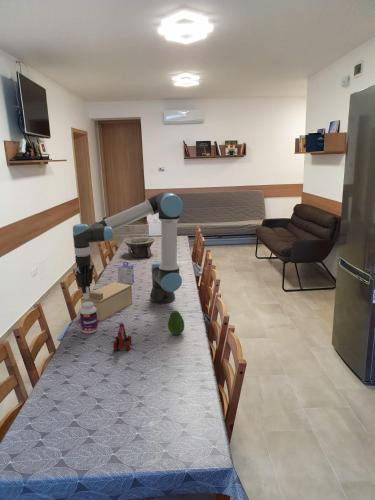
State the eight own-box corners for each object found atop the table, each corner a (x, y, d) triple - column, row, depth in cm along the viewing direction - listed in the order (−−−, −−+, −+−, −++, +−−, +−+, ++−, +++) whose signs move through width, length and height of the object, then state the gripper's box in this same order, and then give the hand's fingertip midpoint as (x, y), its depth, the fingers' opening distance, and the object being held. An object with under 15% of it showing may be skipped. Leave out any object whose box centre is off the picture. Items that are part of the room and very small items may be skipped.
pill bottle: (83, 335, 177) (80, 308, 173) (79, 329, 184) (77, 302, 180) (99, 332, 181) (97, 304, 177) (95, 325, 188) (93, 299, 184)
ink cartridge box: (134, 281, 254) (133, 261, 251) (132, 284, 249) (131, 263, 245) (120, 281, 255) (119, 261, 252) (118, 284, 250) (117, 263, 246)
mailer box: (132, 302, 217) (131, 286, 214) (101, 321, 193) (99, 303, 190) (114, 299, 223) (113, 283, 220) (82, 316, 198) (80, 299, 196)
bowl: (130, 251, 336) (129, 235, 332) (158, 252, 332) (157, 236, 329) (121, 259, 310) (120, 242, 307) (151, 260, 307) (150, 243, 303)
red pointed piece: (132, 340, 172) (131, 319, 170) (129, 353, 160) (127, 332, 157) (117, 340, 172) (116, 320, 169) (113, 354, 160) (111, 332, 157)
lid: (131, 286, 214) (131, 280, 213) (99, 302, 190) (99, 296, 189) (113, 283, 220) (113, 277, 219) (80, 299, 196) (80, 292, 195)
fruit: (180, 339, 172) (180, 315, 169) (165, 336, 175) (164, 313, 172) (186, 332, 179) (186, 309, 176) (171, 329, 182) (171, 307, 179)
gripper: (85, 251, 193) (89, 293, 198) (67, 257, 181) (72, 301, 187) (97, 252, 189) (100, 295, 195) (79, 258, 178) (83, 303, 184)
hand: (86, 298), depth 191 cm, fingers closed
